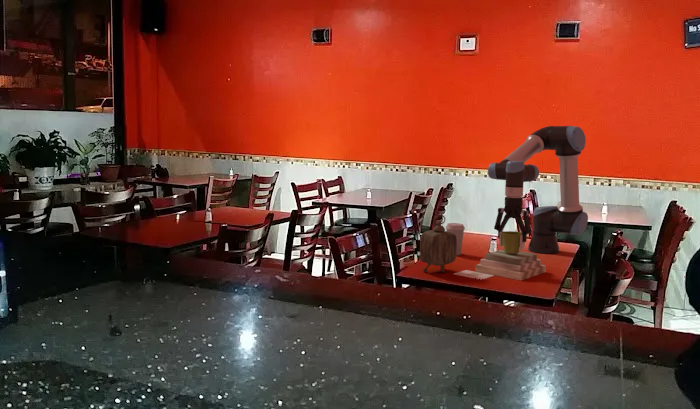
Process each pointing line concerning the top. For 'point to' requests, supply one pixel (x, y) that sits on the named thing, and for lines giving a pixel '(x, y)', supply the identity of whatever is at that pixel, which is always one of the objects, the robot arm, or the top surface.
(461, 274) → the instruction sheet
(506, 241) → the plant pot
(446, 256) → the tabletop clock
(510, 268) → the stepped tower
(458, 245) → the coffee cup
